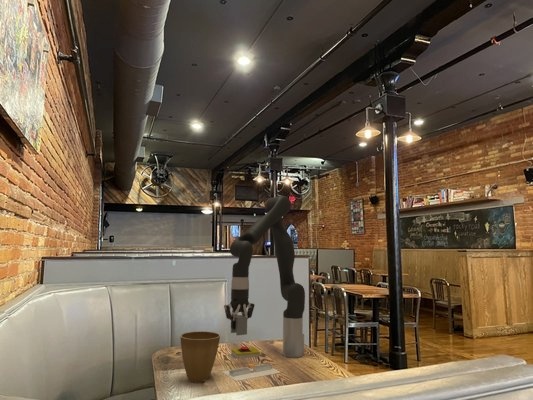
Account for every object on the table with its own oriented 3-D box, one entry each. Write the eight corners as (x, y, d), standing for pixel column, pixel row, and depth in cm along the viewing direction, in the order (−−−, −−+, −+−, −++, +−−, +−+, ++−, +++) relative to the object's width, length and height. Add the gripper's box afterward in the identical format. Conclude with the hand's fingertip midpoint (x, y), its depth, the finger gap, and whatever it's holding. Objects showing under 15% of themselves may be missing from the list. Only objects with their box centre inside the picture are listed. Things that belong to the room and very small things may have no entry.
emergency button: (228, 346, 172) (258, 343, 177) (227, 355, 172) (258, 353, 177) (233, 351, 164) (265, 348, 169) (233, 361, 163) (265, 358, 168)
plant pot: (220, 385, 133) (221, 338, 135) (177, 387, 129) (180, 340, 132) (216, 372, 147) (218, 330, 149) (178, 373, 144) (180, 331, 146)
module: (240, 331, 159) (240, 314, 160) (246, 334, 154) (247, 317, 155) (230, 332, 157) (231, 315, 158) (237, 335, 152) (237, 317, 153)
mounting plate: (264, 366, 155) (264, 364, 155) (280, 374, 145) (280, 372, 145) (221, 374, 144) (221, 371, 144) (236, 383, 134) (236, 380, 135)
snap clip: (252, 366, 146) (252, 363, 147) (254, 368, 145) (254, 364, 145) (248, 367, 145) (248, 364, 146) (250, 368, 144) (250, 365, 144)
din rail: (268, 367, 151) (268, 363, 151) (272, 369, 149) (272, 365, 149) (229, 374, 141) (229, 370, 141) (232, 376, 139) (232, 372, 139)
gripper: (250, 286, 165) (249, 326, 163) (221, 287, 158) (219, 329, 155) (258, 287, 159) (257, 329, 157) (229, 289, 151) (227, 332, 149)
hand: (238, 328), depth 156 cm, fingers closed on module, 4 cm apart
